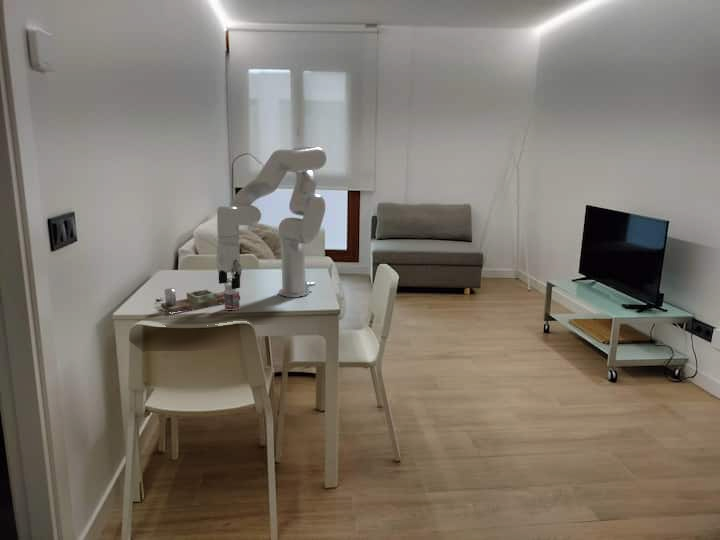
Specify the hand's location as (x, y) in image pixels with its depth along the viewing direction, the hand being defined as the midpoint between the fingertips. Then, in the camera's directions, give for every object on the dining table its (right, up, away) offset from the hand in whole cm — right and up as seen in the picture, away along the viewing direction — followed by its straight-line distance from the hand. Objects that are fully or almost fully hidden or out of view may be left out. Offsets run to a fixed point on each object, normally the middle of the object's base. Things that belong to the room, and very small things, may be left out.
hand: (229, 285), depth 197 cm
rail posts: (-13, -5, +8) cm, 16 cm away
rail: (-13, -7, +8) cm, 17 cm away
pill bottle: (0, -9, +3) cm, 10 cm away
